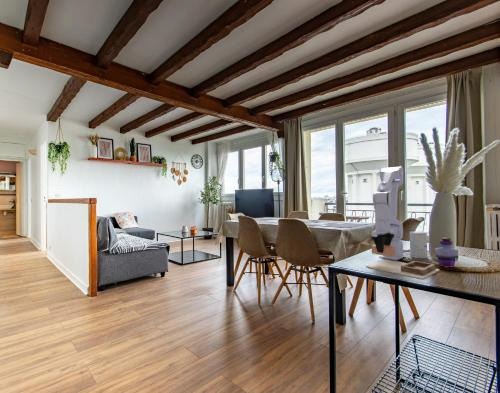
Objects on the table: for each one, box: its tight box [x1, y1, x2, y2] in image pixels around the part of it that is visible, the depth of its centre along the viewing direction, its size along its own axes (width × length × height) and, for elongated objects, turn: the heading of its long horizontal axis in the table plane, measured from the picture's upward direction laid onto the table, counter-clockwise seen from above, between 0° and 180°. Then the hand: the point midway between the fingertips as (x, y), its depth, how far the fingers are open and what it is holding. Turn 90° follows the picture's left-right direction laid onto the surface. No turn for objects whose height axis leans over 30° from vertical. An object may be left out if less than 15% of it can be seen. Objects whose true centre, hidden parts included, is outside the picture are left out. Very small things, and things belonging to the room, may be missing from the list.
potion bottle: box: [434, 236, 459, 267], centre depth 115 cm, size 9×9×12 cm
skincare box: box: [409, 230, 428, 259], centre depth 131 cm, size 6×4×12 cm
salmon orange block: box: [371, 244, 395, 256], centre depth 118 cm, size 4×8×4 cm, turn 37°
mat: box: [365, 259, 440, 280], centre depth 114 cm, size 16×22×1 cm
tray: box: [401, 260, 437, 276], centre depth 109 cm, size 12×8×2 cm, turn 127°
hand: (383, 251), depth 118 cm, fingers closed on salmon orange block, 4 cm apart
